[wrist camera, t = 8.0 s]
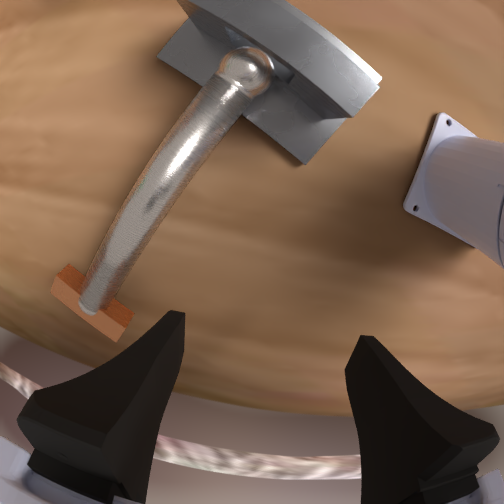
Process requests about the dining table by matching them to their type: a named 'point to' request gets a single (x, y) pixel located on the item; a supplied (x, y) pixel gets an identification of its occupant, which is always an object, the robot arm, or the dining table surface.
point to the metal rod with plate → (162, 188)
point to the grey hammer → (277, 68)
